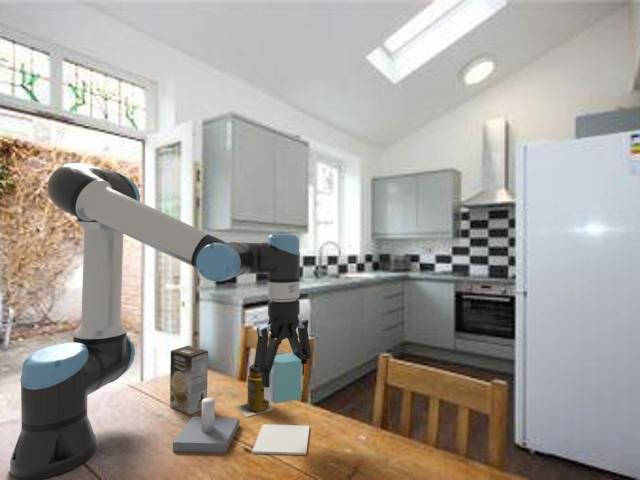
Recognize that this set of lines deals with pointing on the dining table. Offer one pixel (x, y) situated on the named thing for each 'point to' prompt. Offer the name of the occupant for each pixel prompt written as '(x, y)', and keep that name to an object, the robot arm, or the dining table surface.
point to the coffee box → (188, 378)
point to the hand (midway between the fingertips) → (283, 394)
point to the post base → (206, 439)
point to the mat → (282, 439)
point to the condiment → (255, 395)
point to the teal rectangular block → (286, 378)
